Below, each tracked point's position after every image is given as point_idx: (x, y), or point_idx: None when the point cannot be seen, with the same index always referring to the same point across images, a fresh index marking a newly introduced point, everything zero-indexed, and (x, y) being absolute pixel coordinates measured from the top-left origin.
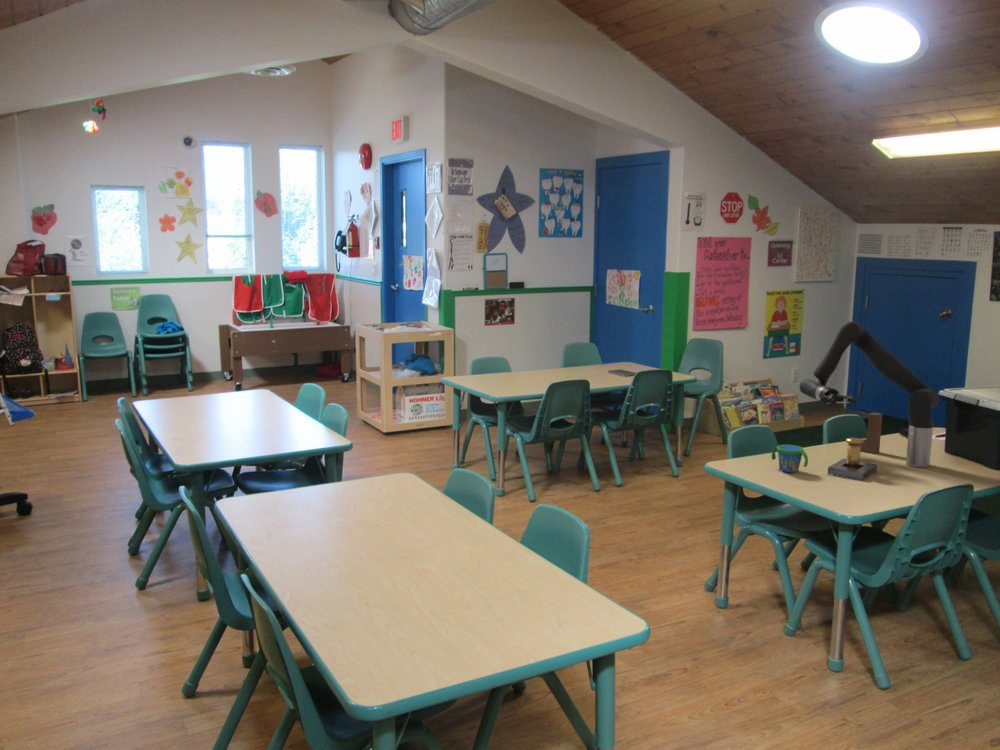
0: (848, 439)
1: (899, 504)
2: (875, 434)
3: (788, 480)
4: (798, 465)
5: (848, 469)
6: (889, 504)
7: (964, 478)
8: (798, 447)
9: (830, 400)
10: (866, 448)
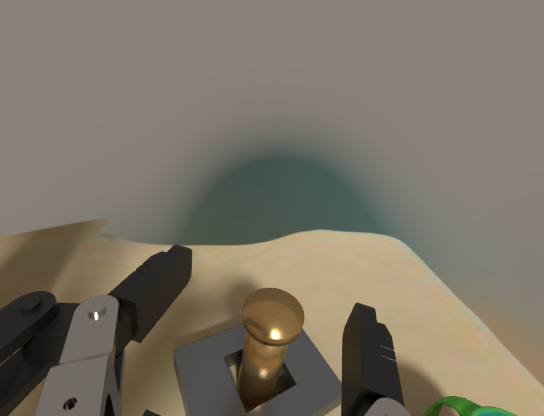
0: (295, 320)
1: (311, 233)
2: None
3: (476, 398)
4: None
5: (300, 345)
6: (325, 237)
7: (68, 249)
8: None
9: (392, 362)
10: None
